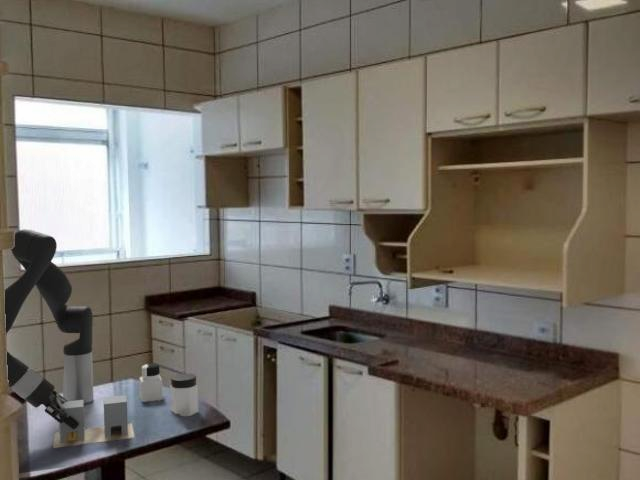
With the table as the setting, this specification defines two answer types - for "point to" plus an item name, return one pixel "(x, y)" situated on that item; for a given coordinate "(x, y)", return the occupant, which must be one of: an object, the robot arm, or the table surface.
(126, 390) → the table surface
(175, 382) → the jar
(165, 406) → the table surface
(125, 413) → the empty cover
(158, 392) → the medicine bottle
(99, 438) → the birch board
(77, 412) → the cube cover
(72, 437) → the letter cube
